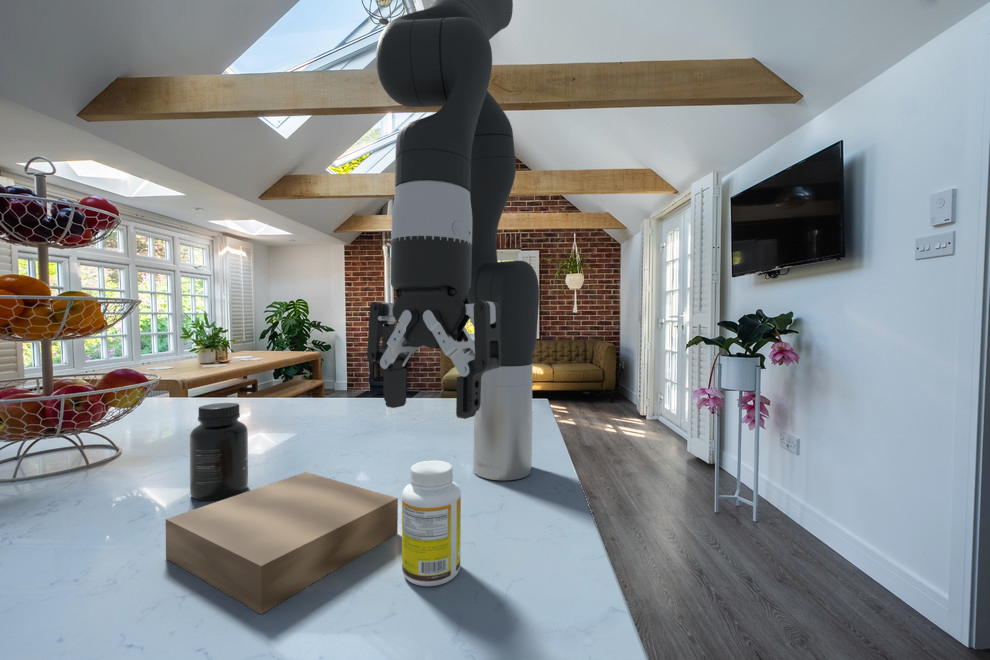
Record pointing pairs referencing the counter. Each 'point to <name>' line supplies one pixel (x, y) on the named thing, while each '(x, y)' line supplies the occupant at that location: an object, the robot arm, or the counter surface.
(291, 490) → the walnut block
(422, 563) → the supplement bottle
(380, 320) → the robot arm
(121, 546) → the counter surface
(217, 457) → the supplement bottle
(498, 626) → the counter surface
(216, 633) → the counter surface
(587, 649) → the counter surface
